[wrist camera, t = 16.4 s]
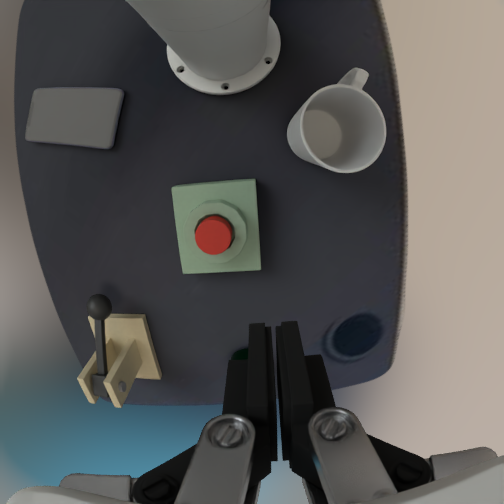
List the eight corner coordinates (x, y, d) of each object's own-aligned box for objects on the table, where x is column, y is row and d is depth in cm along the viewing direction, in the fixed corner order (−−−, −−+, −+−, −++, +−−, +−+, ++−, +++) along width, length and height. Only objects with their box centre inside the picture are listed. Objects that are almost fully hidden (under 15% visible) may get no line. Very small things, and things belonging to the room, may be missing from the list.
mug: (329, 174, 33) (366, 188, 21) (274, 150, 32) (285, 149, 21) (362, 98, 30) (410, 78, 18) (308, 72, 29) (334, 36, 18)
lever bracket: (91, 313, 39) (55, 355, 29) (145, 313, 39) (115, 362, 29) (112, 370, 43) (86, 416, 33) (162, 374, 42) (143, 426, 32)
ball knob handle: (95, 295, 36) (81, 293, 33) (116, 295, 36) (103, 292, 33) (100, 390, 34) (87, 395, 30) (122, 393, 34) (110, 399, 30)
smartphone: (110, 150, 31) (23, 141, 30) (114, 150, 32) (27, 141, 31) (124, 88, 29) (33, 87, 28) (127, 89, 30) (37, 88, 28)
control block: (176, 185, 33) (166, 189, 30) (255, 178, 33) (255, 181, 29) (186, 267, 37) (179, 280, 33) (260, 263, 36) (261, 276, 32)
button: (196, 217, 31) (192, 221, 29) (230, 214, 31) (229, 218, 29) (200, 250, 32) (197, 256, 30) (233, 248, 32) (232, 253, 30)
